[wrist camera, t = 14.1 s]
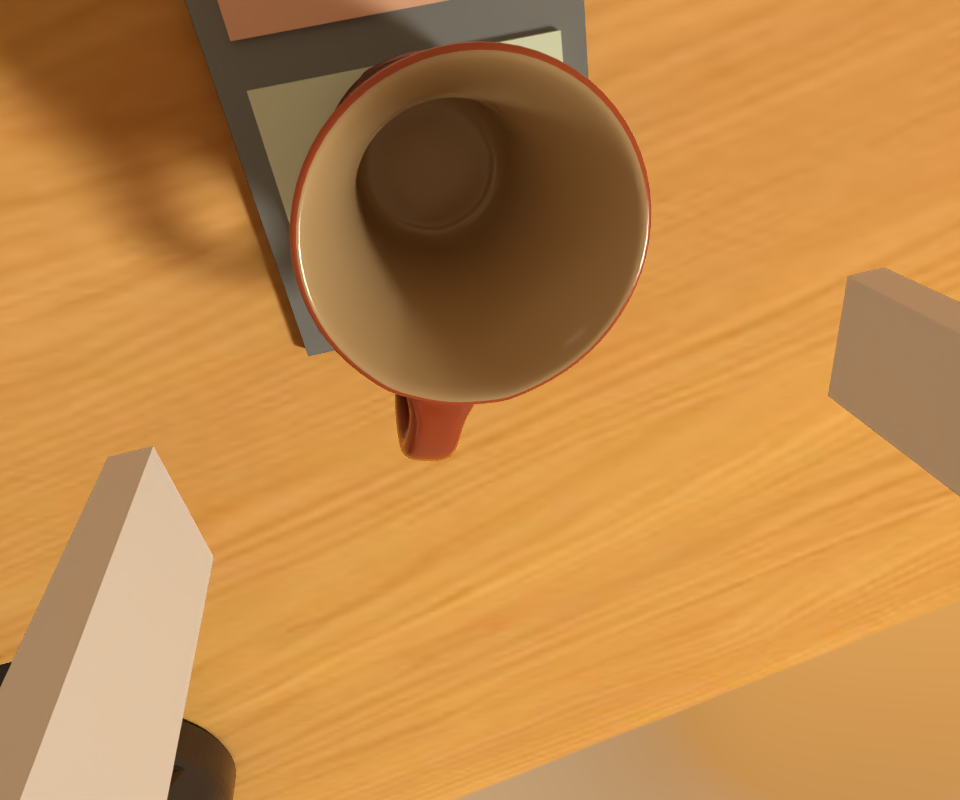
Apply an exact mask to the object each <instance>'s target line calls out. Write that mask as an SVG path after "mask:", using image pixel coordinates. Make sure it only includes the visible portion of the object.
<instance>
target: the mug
mask: <svg viewBox="0 0 960 800" xmlns="http://www.w3.org/2000/svg"><path fill="white" fill-rule="evenodd" d="M650 227H651V198H650V188H649V182H648V177H647V172H646V168H645V165H644V162H643V158H642V155H641V152H640V150H639V147H638V145H637V143H636V140H635V138H634V136H633V134H632V132H631V130H630V128H629V127H628V125H627V123H626V121H625V120H624V118H623V117H622V116H621V114H620V113H619V111H618V110H617V108H616V107H615V106H614V104H613V103H612V102H611V101H610V100H609V99H608V98H607V96H606V95H605V94H604V93H603V92H602V91H601V90H600V89H599V88H598V87H597V86H596V85H594V84H593V83H592V82H591V81H590V80H589V79H588V78H586V77H585V76H584V75H582V74H581V73H579V72H578V71H577V70H575V69H574V68H572V67H570V66H569V65H567V64H565V63H563V62H562V61H560V60H558V59H556V58H554V57H551V56H549V55H547V54H544V53H542V52H539V51H536V50H533V49H529V48H526V47H522V46H519V45H513V44H507V43H501V42H483V41H476V42H460V43H454V44H448V45H442V46H437V47H434V48H431V49H427V50H418V51H412V52H407V53H404V54H400V55H397V56H394V57H392V58H389V59H387V60H385V61H383V62H381V63H379V64H377V65H375V66H373V67H371V68H369V69H368V70H366V71H365V72H364V73H363V74H362V75H361V77H360V78H359V79H358V80H357V81H356V82H355V83H354V84H353V85H352V86H351V87H350V88H349V89H348V90H347V92H346V93H345V95H344V96H343V97H342V99H341V100H340V102H339V103H338V105H337V107H336V109H335V110H334V112H333V113H332V115H331V116H330V117H329V119H328V120H327V121H326V123H325V124H324V125H323V127H322V128H321V130H320V131H319V133H318V135H317V137H316V138H315V140H314V142H313V143H312V145H311V147H310V149H309V151H308V153H307V156H306V158H305V160H304V162H303V165H302V167H301V170H300V174H299V177H298V180H297V183H296V186H295V191H294V196H293V200H292V206H291V216H290V249H291V259H292V264H293V269H294V274H295V278H296V281H297V285H298V288H299V291H300V294H301V296H302V299H303V301H304V303H305V306H306V308H307V310H308V312H309V314H310V316H311V317H312V319H313V321H314V323H315V325H316V326H317V328H318V329H319V331H320V332H321V333H322V335H323V336H324V338H325V339H326V340H327V342H328V343H329V344H330V345H331V346H332V347H333V348H334V350H335V351H336V352H337V353H338V354H339V355H340V356H341V357H342V358H343V359H344V360H345V361H346V362H347V363H349V364H350V365H351V366H352V367H353V368H355V369H356V370H357V371H358V372H360V373H361V374H362V375H364V376H365V377H366V378H368V379H369V380H371V381H372V382H374V383H375V384H377V385H379V386H380V387H382V388H384V389H386V390H387V391H390V392H392V393H395V410H396V423H397V431H398V438H399V443H400V447H401V450H402V452H403V454H404V455H405V456H407V457H408V458H410V459H413V460H421V461H439V460H444V459H446V458H448V457H450V456H451V455H452V453H453V452H454V451H455V449H456V447H457V444H458V441H459V438H460V435H461V431H462V428H463V425H464V422H465V420H466V418H467V416H468V414H469V412H470V411H471V409H472V408H473V406H474V404H483V403H493V402H500V401H504V400H509V399H512V398H514V397H517V396H520V395H522V394H524V393H527V392H529V391H531V390H533V389H535V388H537V387H539V386H541V385H543V384H545V383H547V382H549V381H551V380H552V379H554V378H556V377H557V376H559V375H561V374H562V373H564V372H565V371H567V370H568V369H569V368H571V367H572V366H574V365H575V364H576V363H578V362H579V361H580V360H581V359H582V358H583V357H585V356H586V355H587V354H588V353H589V352H590V351H591V350H592V349H593V348H594V347H595V346H596V345H597V344H598V343H599V342H600V341H601V340H602V339H603V338H604V336H605V335H606V334H607V333H608V332H609V331H610V329H611V328H612V327H613V325H614V324H615V322H616V321H617V320H618V318H619V317H620V315H621V314H622V312H623V310H624V309H625V307H626V305H627V303H628V302H629V300H630V298H631V296H632V294H633V291H634V289H635V287H636V285H637V282H638V280H639V277H640V274H641V272H642V268H643V265H644V261H645V258H646V254H647V249H648V243H649V237H650Z"/></svg>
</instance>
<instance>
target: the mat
mask: <svg viewBox="0 0 960 800" xmlns="http://www.w3.org/2000/svg"><path fill="white" fill-rule="evenodd" d="M185 2H186V5H187V8H188V10H189V13H190V16H191V19H192V22H193V25H194V28H195V31H196V34H197V36H198V39H199V42H200V45H201V48H202V51H203V54H204V57H205V60H206V62H207V65H208V68H209V71H210V74H211V77H212V80H213V83H214V85H215V88H216V91H217V94H218V97H219V100H220V103H221V106H222V109H223V111H224V114H225V117H226V120H227V123H228V126H229V129H230V132H231V135H232V137H233V140H234V143H235V146H236V149H237V152H238V155H239V158H240V161H241V163H242V166H243V169H244V172H245V175H246V178H247V181H248V184H249V186H250V189H251V192H252V195H253V198H254V201H255V204H256V207H257V210H258V212H259V215H260V218H261V221H262V224H263V227H264V230H265V233H266V236H267V238H268V241H269V244H270V247H271V250H272V253H273V256H274V259H275V261H276V264H277V267H278V270H279V273H280V276H281V279H282V282H283V285H284V287H285V290H286V293H287V296H288V299H289V302H290V305H291V308H292V311H293V313H294V316H295V319H296V322H297V325H298V328H299V331H300V334H301V337H302V339H303V342H304V345H305V348H306V351H307V354H308V356H312V355H316V354H320V353H325V352H329V351H333V350H334V348H333V347H332V346H331V345H330V344H329V343H328V342H327V340H326V339H325V338H324V336H323V335H322V333H321V332H320V331H319V329H318V328H317V326H316V325H315V323H314V321H313V319H312V317H311V316H310V314H309V312H308V310H307V308H306V306H305V303H304V301H303V299H302V296H301V294H300V291H299V288H298V285H297V281H296V278H295V274H294V269H293V264H292V259H291V249H290V216H291V206H292V200H293V196H294V191H295V186H296V183H297V180H298V177H299V174H300V170H301V167H302V165H303V162H304V160H305V158H306V156H307V153H308V151H309V149H310V147H311V145H312V143H313V142H314V140H315V138H316V137H317V135H318V133H319V131H320V130H321V128H322V127H323V125H324V124H325V123H326V121H327V120H328V119H329V117H330V116H331V115H332V113H333V112H334V110H335V109H336V107H337V105H338V103H339V102H340V100H341V99H342V97H343V96H344V95H345V93H346V92H347V90H348V89H349V88H350V87H351V86H352V85H353V84H354V83H355V82H356V81H357V80H358V79H359V78H360V77H361V75H362V74H363V73H364V72H365V71H366V70H368V69H369V68H371V67H373V66H375V65H377V64H379V63H381V62H383V61H385V60H387V59H389V58H392V57H394V56H397V55H400V54H404V53H407V52H412V51H418V50H427V49H431V48H434V47H437V46H442V45H448V44H454V43H460V42H476V41H483V42H501V43H507V44H513V45H519V46H522V47H526V48H529V49H533V50H536V51H539V52H542V53H544V54H547V55H549V56H551V57H554V58H556V59H558V60H560V61H562V62H563V63H565V64H567V65H569V66H570V67H572V68H574V69H575V70H577V71H578V72H579V73H581V74H582V75H584V76H585V77H586V78H588V65H587V47H586V29H585V11H584V0H185Z"/></svg>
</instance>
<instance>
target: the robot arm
mask: <svg viewBox="0 0 960 800" xmlns="http://www.w3.org/2000/svg"><path fill="white" fill-rule="evenodd" d="M828 396H829V397H830V398H832V399H833V400H834V401H836V402H837V403H838V404H839V405H841V406H842V407H843V408H845V409H846V410H847V411H849V412H850V413H851V414H853V415H854V416H855V417H856V418H858V419H859V420H860V421H862V422H863V423H864V424H866V425H867V426H868V427H870V428H871V429H872V430H873V431H875V432H876V433H877V434H879V435H880V436H881V437H883V438H884V439H885V440H887V441H888V442H889V443H890V444H892V445H893V446H894V447H896V448H897V449H898V450H900V451H901V452H902V453H904V454H905V455H906V456H907V457H909V458H910V459H911V460H913V461H914V462H915V463H917V464H918V465H919V466H921V467H922V468H923V469H924V470H926V471H927V472H928V473H930V474H931V475H932V476H934V477H935V478H936V479H938V480H939V481H940V482H941V483H943V484H944V485H945V486H947V487H948V488H949V489H951V490H952V491H953V492H954V493H956V494H957V495H958V496H960V302H958V301H956V300H954V299H952V298H949V297H947V296H945V295H943V294H941V293H939V292H936V291H934V290H932V289H930V288H928V287H926V286H923V285H921V284H919V283H917V282H915V281H913V280H910V279H908V278H906V277H904V276H902V275H900V274H897V273H895V272H893V271H891V270H889V269H887V268H884V267H883V268H879V269H875V270H871V271H867V272H863V273H859V274H855V275H851V276H848V278H847V284H846V290H845V296H844V302H843V308H842V314H841V320H840V326H839V332H838V338H837V344H836V351H835V357H834V363H833V369H832V375H831V381H830V387H829V393H828ZM212 563H213V555H212V553H211V552H210V550H209V548H208V546H207V544H206V542H205V540H204V539H203V537H202V535H201V533H200V531H199V529H198V528H197V526H196V524H195V522H194V520H193V518H192V517H191V515H190V513H189V511H188V509H187V507H186V505H185V504H184V502H183V500H182V498H181V496H180V494H179V493H178V491H177V489H176V487H175V485H174V483H173V481H172V480H171V478H170V476H169V474H168V472H167V470H166V469H165V467H164V465H163V463H162V461H161V459H160V457H159V456H158V454H157V452H156V450H155V448H154V446H151V447H147V448H143V449H139V450H135V451H131V452H127V453H123V454H119V455H115V456H111V457H108V458H107V460H106V463H105V465H104V467H103V469H102V471H101V473H100V475H99V477H98V480H97V482H96V484H95V486H94V488H93V490H92V492H91V495H90V497H89V499H88V501H87V503H86V505H85V507H84V510H83V512H82V514H81V516H80V518H79V520H78V522H77V524H76V527H75V529H74V531H73V533H72V535H71V537H70V539H69V542H68V544H67V546H66V548H65V550H64V552H63V554H62V557H61V559H60V561H59V563H58V565H57V567H56V569H55V571H54V574H53V576H52V578H51V580H50V582H49V584H48V586H47V589H46V591H45V593H44V595H43V597H42V599H41V601H40V604H39V606H38V608H37V610H36V612H35V614H34V616H33V618H32V621H31V623H30V625H29V627H28V629H27V631H26V633H25V636H24V638H23V640H22V642H21V644H20V646H19V648H18V651H17V653H16V655H15V657H14V659H13V661H12V662H9V663H6V664H2V665H0V800H233V795H234V786H235V778H236V769H235V764H234V761H233V759H232V756H231V755H230V753H229V751H228V750H227V749H226V748H225V746H224V745H223V744H222V743H221V742H220V741H218V740H217V739H216V738H215V737H213V736H212V735H211V734H209V733H208V732H206V731H204V730H202V729H200V728H198V727H197V726H194V725H192V724H190V723H187V722H184V721H182V719H183V714H184V709H185V703H186V698H187V693H188V688H189V683H190V677H191V672H192V667H193V662H194V656H195V651H196V646H197V641H198V636H199V630H200V625H201V620H202V615H203V609H204V604H205V599H206V594H207V589H208V583H209V578H210V573H211V568H212Z"/></svg>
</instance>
